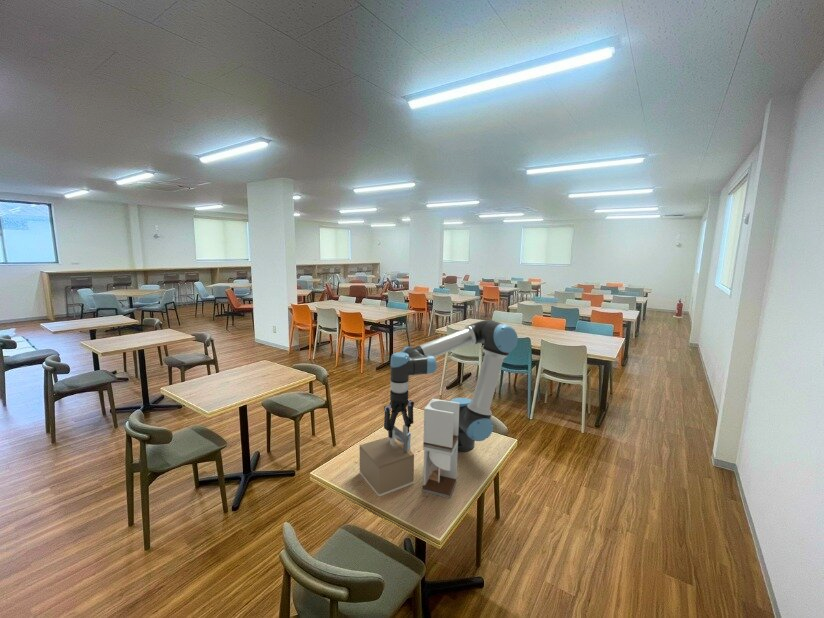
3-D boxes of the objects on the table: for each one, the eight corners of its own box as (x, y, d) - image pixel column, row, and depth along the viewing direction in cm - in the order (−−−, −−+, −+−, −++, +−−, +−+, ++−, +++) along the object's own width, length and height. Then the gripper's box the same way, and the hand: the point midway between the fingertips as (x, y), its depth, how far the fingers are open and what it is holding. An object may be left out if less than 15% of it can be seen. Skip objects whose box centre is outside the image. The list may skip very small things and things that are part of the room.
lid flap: (379, 468, 138) (379, 449, 137) (359, 446, 153) (359, 429, 152) (414, 456, 147) (414, 438, 146) (392, 437, 162) (392, 420, 160)
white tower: (422, 491, 144) (424, 408, 138) (430, 476, 154) (432, 398, 148) (450, 498, 140) (453, 413, 135) (456, 482, 150) (459, 402, 144)
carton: (392, 462, 164) (392, 437, 162) (413, 483, 149) (414, 456, 147) (359, 473, 155) (359, 447, 153) (378, 496, 140) (379, 468, 138)
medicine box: (391, 449, 174) (392, 432, 173) (396, 445, 178) (396, 429, 177) (406, 454, 170) (406, 437, 169) (410, 449, 174) (410, 432, 173)
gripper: (413, 383, 157) (412, 432, 161) (375, 391, 147) (374, 444, 151) (423, 388, 151) (421, 440, 155) (383, 397, 141) (383, 452, 145)
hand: (398, 442), depth 153 cm, fingers open, 6 cm apart
